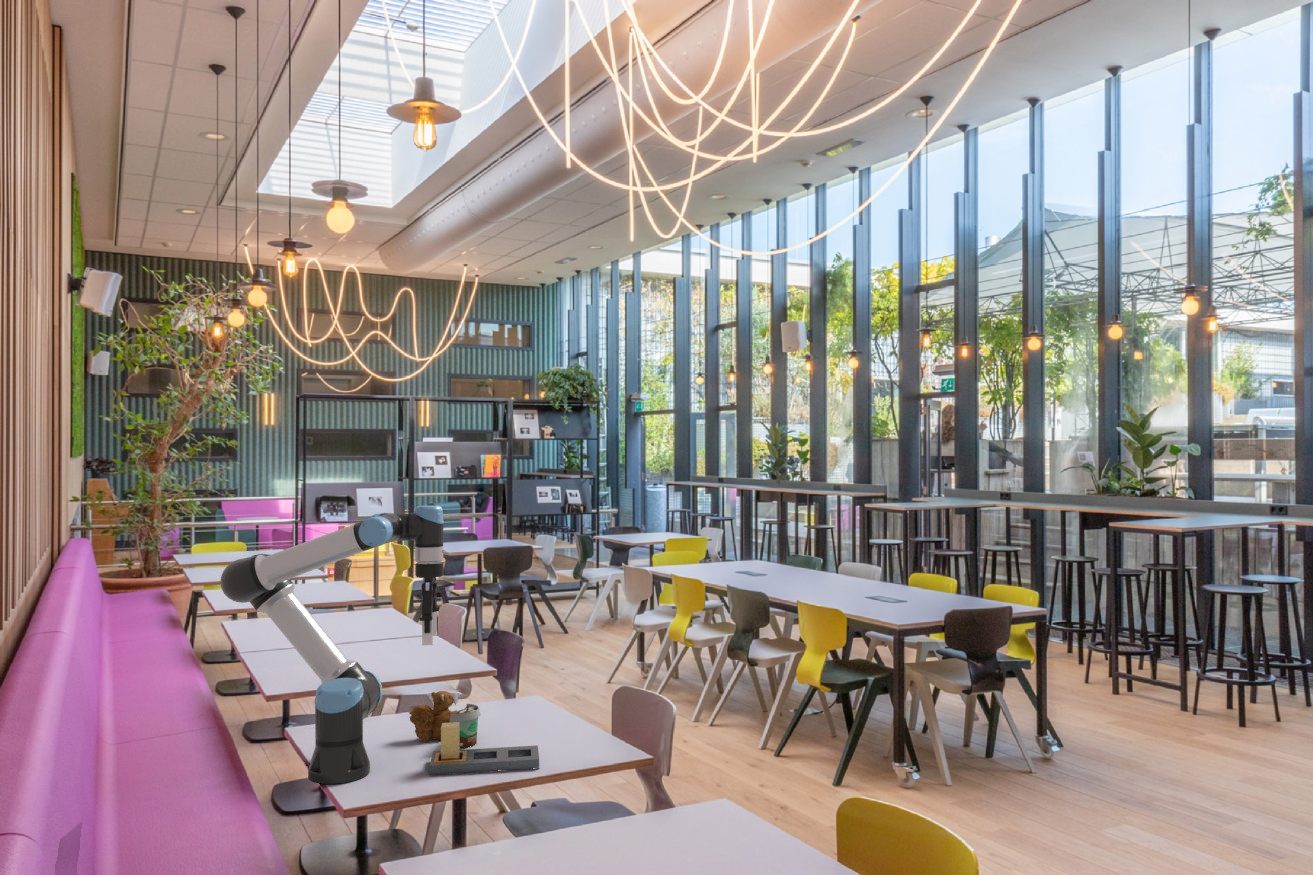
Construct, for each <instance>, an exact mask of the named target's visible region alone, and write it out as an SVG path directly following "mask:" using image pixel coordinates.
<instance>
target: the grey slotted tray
mask: <svg viewBox="0 0 1313 875" xmlns="http://www.w3.org/2000/svg"><path fill="white" fill-rule="evenodd" d="M539 754H540V753H539V745H522V746H520V745H519V746H507V747H506V746H504V747H490V748H489V747H487V748H486V747H485V748H472V749H471V748H470V749H469V748H468V749H467V748H465V749H460V760H446V761H441V750H435V751H434V750H433V751H432V753H431V758H430V762H429V768H428V770H429V771H428V775H430V776H442V775H457V774H458V775H459V774H462V775H463V774H476V772H479V773H490V772H489V771H496V772H499V771H498V770H512V771H523V770H522V769H529V770H534V769H533V768H539V769H540V755H539Z"/></svg>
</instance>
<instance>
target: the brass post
mask: <svg viewBox="0 0 1313 875" xmlns="http://www.w3.org/2000/svg"><path fill="white" fill-rule="evenodd" d="M440 746H441V747H440V751H441V761H446V760H460V750H461V749H460V722H452V723H442V726H441V740H440Z"/></svg>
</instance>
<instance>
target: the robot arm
mask: <svg viewBox="0 0 1313 875" xmlns="http://www.w3.org/2000/svg"><path fill="white" fill-rule="evenodd" d="M444 523H445V522H444V511H443V508H442V506H441V505H417V506H416V507H415V508H414V512H411V513H410V512H409V513H406V512H405V513H399V512H398V513H396V512H395V513H393V512H391V513H390V512H389V513H388V512H382V513H374V514H372V515H371V516H370V517H368V518H366V519H364V520H361V521H360V522H359V521H358V522H357V523H354V524H352V525H348V526H346V527H345V526H344V527H342V528H340V529H337V530H335V531H332V532H329V533H327V534H324V535H321V536H319V537H316V538H313V539H310V540H308V541H305V542H303V543H300V544H296V545H294V546H291V547H288V548H286V549H283V550H281V551H277V552H274V553H272V554H270V553H269V554H268V553H258V554H254V555H251V556H248V557H244V558H239V559H236V560H234V561H232V562H230V563H229V564H228V565H227V566H225V568H224V570H223V571H222V573H221V576H220V582H219V583H220V588H221V591H222V592H223V594H224V595H225V596H226V597H227V599H229V600H231V601H233V602H236V603H241V604H243V603H250V604H251V606H252V608H254V610H255V611H256V612H257V613H261V614H264V613H265V614H266V615H267V616H268V617H269V618H270V620H271V621H272V622H273V624H275V626H276V627H277V629H279V631H280V632H281V633H282V635H283V636H284V637H285V638H286V639H287V640H288V642H289V643H290V644H291V645H292V646H293V647H294V649H295V650H296V651H297V653H298V654H299V655H300V657H301V658H302V659H303V661H305V663H306V664H307V665H308V666H309V668H310V669H311V670H312V671H313V673H314V674H315V675H316V676H317V677H318V679H319V680H320V681H321V684H320V685H319V686H318V687H317V689H316V691H315V698H314V711H315V713H314V714H315V716H314V718H315V719H314V721H315V724H314V725H315V728H314V729H315V734H314V736H315V746H314V750H313V753H312V756H311V759H310V762H309V765H308V769H307V774H308V775H307V779H308V780H309V781H310V782H312V783H315V784H320V783H321V784H320V785H335V784H336V785H338V784H344V783H350V782H354V781H357V780H360V779H363V778H364V777H366V776H368V775H369V773H371V763H370V759H369V757H368V756H369V755H368V753H367V752H368V751H367V750H366V746H365V745H364V719H366V717H368V716H369V715H371V714H372V713H373V712H374V711H375V710H376V709H377V708H378V706H379V704H380V703H381V700H382V697H383V686H382V683H381V680H380V679H379V677H378V676H377V675H376V674H375V673H373V672H371V671H370V670H365V669H364V667H362V665H360V663H359V662H358V661H357V660H350V659H348V658H347V656H345V654H344V653H343V652H342V651H341V650H340V648H339V647H338V645H337V644H336V643H335V642H334V640H332V638H331V637H330V636H329V635H328V633H327V631H325V630H324V628H323V627H322V626H321V624H320V623H319V622H318V621H317V620H316V618H315V617H314V616H313V614H311V613H310V611H309V610H308V609H307V608H306V606H305V605H304V604H303V602H302V601H301V600H300V599H299V597H298V596H297V595H296V594H295V583H294V582H293V581H292V580H291V579H293V578H296V577H298V576H301V575H303V574H306V573H310V572H312V571H314V570H317V569H320V568H322V567H325V566H327V565H328V566H329V565H330V564H333V563H337V562H339V561H341V560H344V559H347V558H350V557H352V556H356V555H358V554H360V553H363V552H366V551H368V550H369V551H370V550H371V549H372V550H373V549H374V548H378V547H381V546H383V545H385V544H388V543H392V542H398V541H399V542H402V541H404V542H405V541H409V542H411V541H414V542H415V543H414V561H415V562H417V563H416V564H414V566H415V567H414V571H415V574H414V575H415V577H416V578H419V579H423V580H424V581H423V582H422V584H421V600H422V602H421V603H422V604H421V616H420V617H418V618H419V620H418V621H419V622H422V623H421V637H422V638H421V643H422V644H421V646H433V645H434V636H435V637H436V636H437V635H438V634H437V631H438V629H437V627H438V626H437V625H438V622H437V621H438V619H437V618H438V617H437V615H438V614H437V613H438V612H439V611H440V607H438V602H437V594H438V582H437V578H442V577H443V576H444V570H445V569H444V563H443V562H442V561H444V554H445V553H446V552H447V551H446V549H444ZM319 782H320V783H319Z"/></svg>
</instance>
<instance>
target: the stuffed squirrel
mask: <svg viewBox="0 0 1313 875" xmlns="http://www.w3.org/2000/svg"><path fill="white" fill-rule="evenodd" d="M430 694H431V698H432V702H433V707H431V706H430V705H427V704H423V705H420V706H419V705H418V706H414V707H413V708H412V711H410V712H408V714H409V715H410V716H409V717H408V719H409V721H410V722H411V723H412V724H413V725H414V728H415V729H414V732H415V735H416V737H417V738H418V739H419V740H421V741H422V742H427V743H429V742H430V741H432V740H436V741H437V740H438V741H441V726H442V723H451V722H450V716H451V714H456V713H457V712H458V711H459V710H450V709H449V708H450V707H451V706H452V705H453V703H454V705H455V706H457V702H456V699H454V696H453V694H452V693H451V692H448V691H447V690H440V691H433V692H431V693H430Z"/></svg>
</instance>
